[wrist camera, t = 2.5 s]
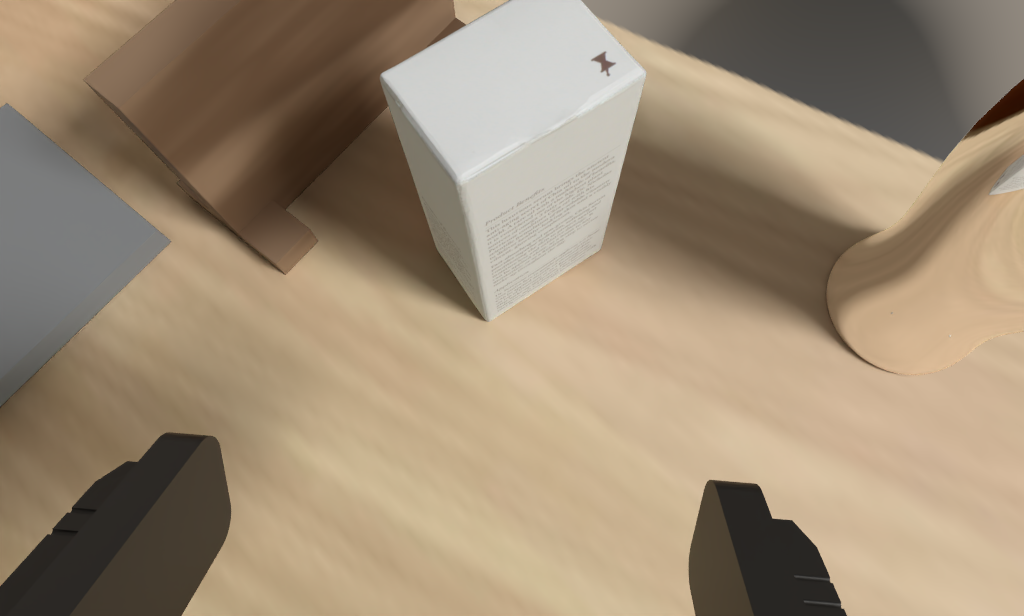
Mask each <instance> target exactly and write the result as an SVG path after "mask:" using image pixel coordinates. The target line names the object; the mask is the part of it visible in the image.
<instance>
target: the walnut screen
mask: <svg viewBox="0 0 1024 616" xmlns="http://www.w3.org/2000/svg"><path fill="white" fill-rule="evenodd" d="M464 26H466V24H464V23H463V22H461V21H460V20H458V19H457V18H455V10H454V2H453V0H175V1H174V2H173V3H172V4H171V5H170V6H168V7H167V8H166V9H165V10H164V11H162V12H161V13H160V14H159V15H158V16H157V17H155V18H154V19H153V20H152V21H151V22H150V23H148V24H147V25H146V26H145V27H144V28H143V29H141V30H140V31H139V32H138V33H137V34H136V35H134V36H133V37H132V38H131V39H130V40H129V41H127V42H126V43H125V44H124V45H123V46H122V47H120V48H119V49H118V50H117V51H116V52H115V53H113V54H112V55H111V56H110V57H109V58H108V59H106V60H105V61H104V62H103V63H102V64H100V65H99V66H98V67H97V68H96V69H95V70H93V71H92V72H91V73H90V74H89V75H88V76H86V77H85V78H84V79H83V80H84V81H85V82H86V83H87V84H88V85H89V86H90V87H91V88H92V89H93V90H94V92H95V93H96V94H97V95H98V96H99V97H100V98H101V99H102V100H103V101H104V102H105V103H106V104H107V105H108V106H109V107H110V108H111V109H112V110H113V111H114V112H115V113H116V114H117V115H118V116H119V117H120V118H121V119H122V120H123V121H124V122H125V123H126V124H127V125H128V126H129V127H130V128H131V129H132V130H133V132H134V133H135V134H136V135H137V136H138V137H139V138H140V139H141V140H142V141H143V142H144V143H145V144H146V145H147V146H148V147H149V148H150V149H151V150H152V151H153V152H154V153H155V154H156V155H157V156H158V157H159V158H160V159H161V160H162V161H163V162H164V163H165V164H166V165H167V166H168V167H169V168H170V169H171V171H172V172H173V173H174V174H175V175H176V176H177V177H178V178H179V179H180V180H179V181H178V182H177V184H178V185H179V186H180V187H181V188H182V189H183V190H184V191H185V192H186V193H187V194H188V195H189V196H190V197H191V198H192V199H194V200H195V201H196V202H197V203H199V204H200V205H201V206H202V207H203V208H205V209H206V210H207V211H208V212H210V213H211V214H212V215H213V216H214V217H216V218H217V219H218V220H219V221H221V222H222V223H223V224H224V225H225V226H227V227H228V228H229V229H230V230H232V231H233V232H234V233H235V234H236V235H238V236H239V237H240V238H241V239H243V240H244V241H245V242H246V243H247V244H249V245H250V246H251V247H252V248H254V249H255V250H256V251H257V252H258V253H260V254H261V255H262V256H263V257H265V258H266V259H267V260H268V261H269V262H271V263H272V264H273V265H274V266H276V267H277V268H278V269H279V270H280V271H282V272H283V273H284V274H285V275H286V274H287V273H288V272H289V271H290V270H291V269H292V268H293V267H294V265H295V264H296V263H297V262H298V261H299V260H300V259H301V258H302V257H303V256H304V255H305V254H306V253H307V252H308V251H309V250H310V249H311V248H312V247H313V246H314V245H315V244H316V243H317V242H318V240H317V239H316V237H315V236H314V234H313V233H312V232H311V230H310V229H309V228H308V227H306V226H305V225H304V224H303V223H301V222H300V221H299V220H298V219H296V218H295V217H294V216H293V215H291V214H290V213H289V212H287V211H286V210H285V209H286V208H287V207H288V206H289V205H290V204H291V203H292V202H293V201H294V200H295V199H296V198H297V197H298V196H299V195H300V194H301V193H302V192H303V191H304V190H305V189H306V188H307V187H308V186H309V185H310V184H311V183H312V182H313V181H314V180H315V179H316V178H317V177H318V176H319V175H320V174H321V173H322V172H323V171H324V170H325V169H326V168H327V167H328V166H329V165H330V164H331V163H332V162H333V161H334V160H335V159H336V158H337V157H338V156H339V155H340V154H341V153H342V152H343V151H344V150H345V149H346V148H347V147H348V146H349V145H350V144H351V143H352V142H353V141H354V140H355V139H356V138H357V137H358V136H359V135H360V133H361V132H362V131H363V130H364V129H365V128H366V127H367V126H368V125H369V124H370V123H371V122H372V121H373V120H374V119H375V118H376V117H377V116H378V115H379V114H380V113H381V112H382V111H383V110H384V109H385V108H386V107H387V106H388V103H387V100H386V97H385V94H384V91H383V88H382V85H381V82H380V74H382V73H383V72H384V71H386V70H388V69H390V68H392V67H394V66H396V65H397V64H399V63H401V62H403V61H405V60H407V59H408V58H410V57H412V56H413V55H415V54H417V53H419V52H420V51H422V50H424V49H426V48H427V47H429V46H431V45H433V44H434V43H436V42H438V41H440V40H441V39H443V38H445V37H447V36H448V35H450V34H452V33H454V32H455V31H457V30H459V29H460V28H462V27H464Z"/></svg>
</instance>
